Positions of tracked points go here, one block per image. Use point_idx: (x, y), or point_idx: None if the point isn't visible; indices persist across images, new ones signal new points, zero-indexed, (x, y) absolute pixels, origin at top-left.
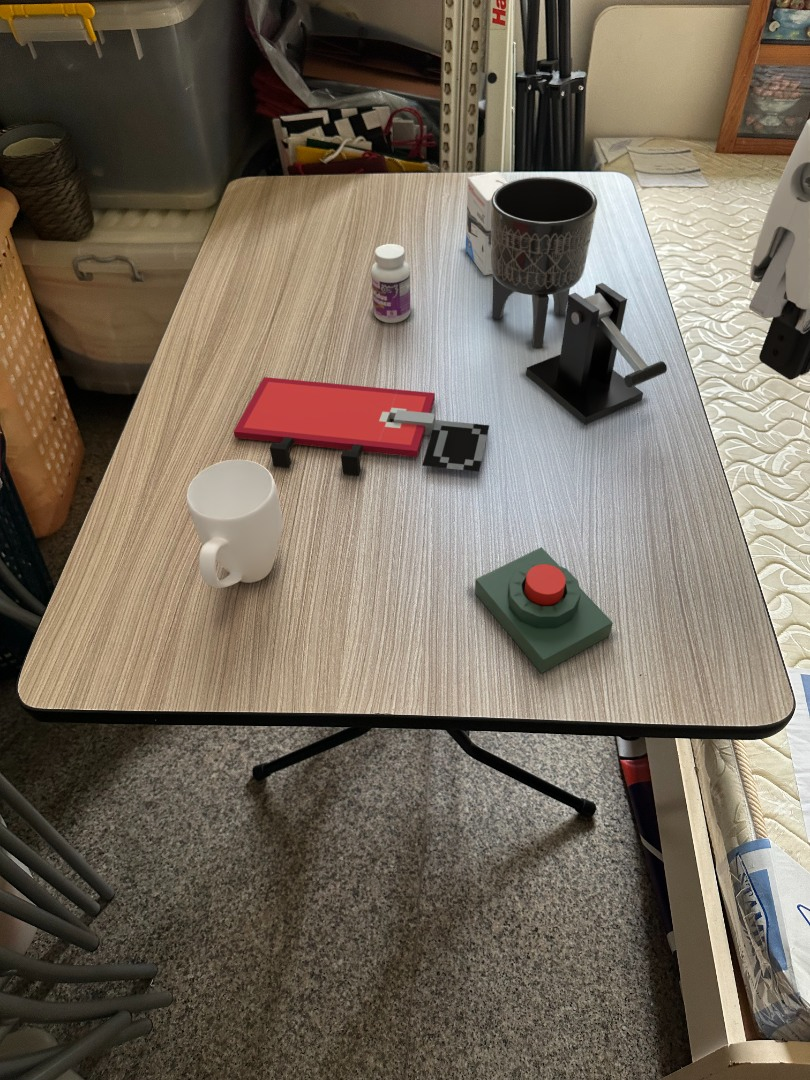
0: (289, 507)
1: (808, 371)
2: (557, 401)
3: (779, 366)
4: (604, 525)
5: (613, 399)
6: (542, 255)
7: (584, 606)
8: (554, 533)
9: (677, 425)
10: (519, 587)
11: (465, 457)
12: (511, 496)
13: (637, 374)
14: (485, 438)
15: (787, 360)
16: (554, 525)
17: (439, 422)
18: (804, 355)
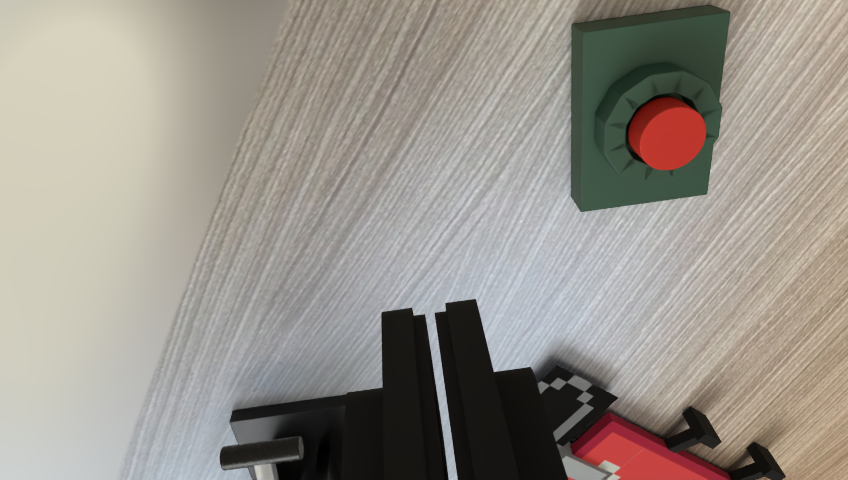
0: (795, 388)
1: (388, 313)
2: None
3: (528, 367)
4: (437, 220)
5: (284, 423)
6: None
7: (601, 81)
8: (516, 234)
9: (204, 353)
10: None
11: (556, 392)
12: (529, 314)
13: (284, 456)
14: None
15: (508, 383)
16: (507, 247)
17: None
18: (486, 381)
